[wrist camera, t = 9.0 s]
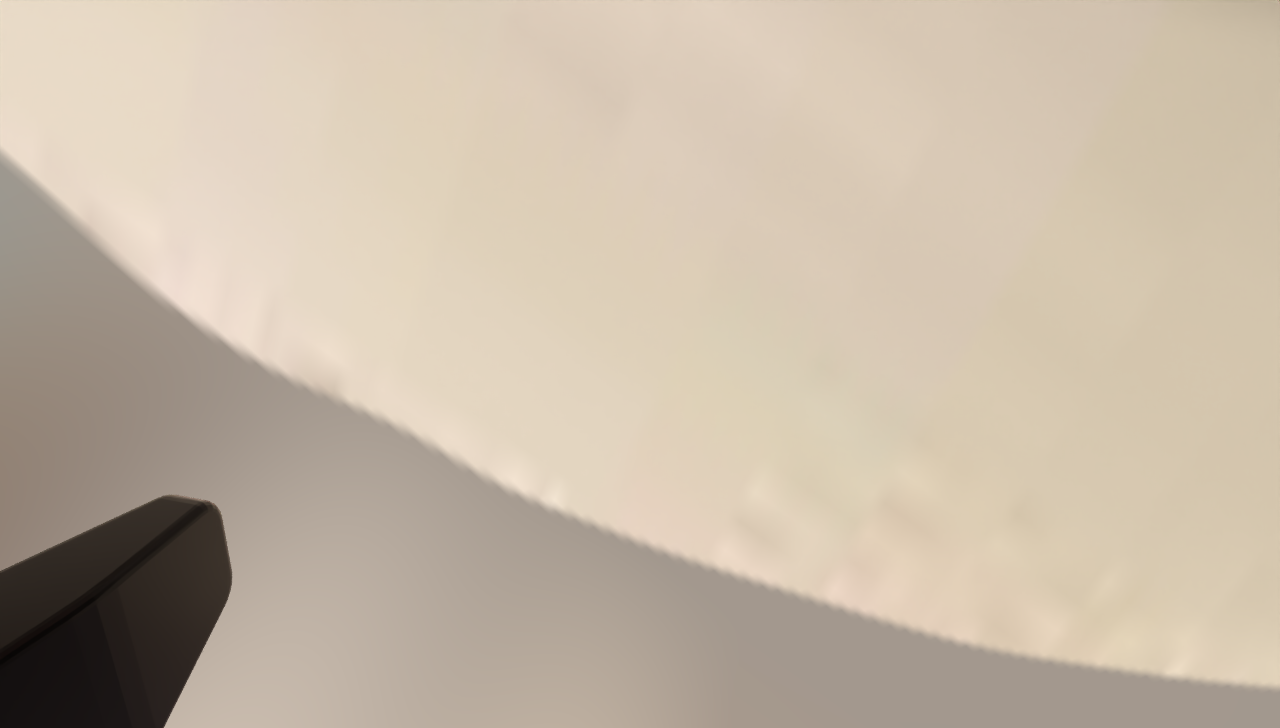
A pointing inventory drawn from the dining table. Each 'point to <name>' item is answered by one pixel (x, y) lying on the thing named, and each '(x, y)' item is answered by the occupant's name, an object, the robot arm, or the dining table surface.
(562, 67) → the dining table surface
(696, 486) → the dining table surface
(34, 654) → the robot arm
